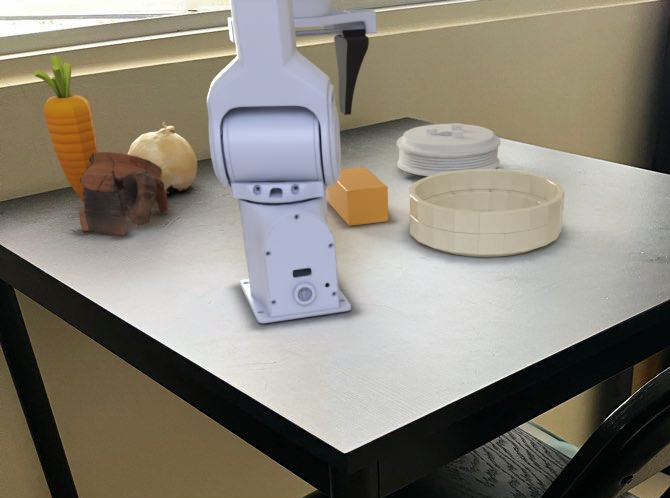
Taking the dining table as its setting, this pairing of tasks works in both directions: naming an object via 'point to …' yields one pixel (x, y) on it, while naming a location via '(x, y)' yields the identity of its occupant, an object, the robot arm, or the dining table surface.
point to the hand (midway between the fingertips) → (310, 116)
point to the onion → (168, 156)
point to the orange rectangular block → (359, 197)
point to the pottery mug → (120, 192)
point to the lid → (447, 149)
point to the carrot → (69, 125)
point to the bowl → (486, 211)
